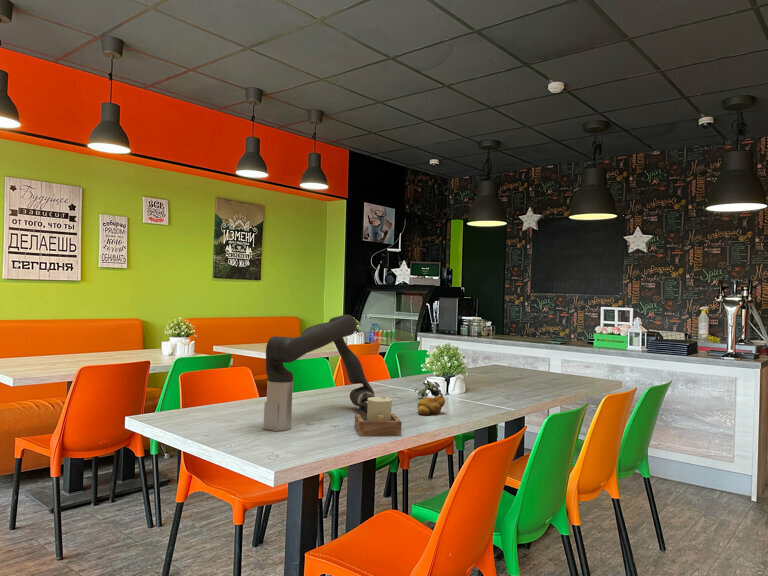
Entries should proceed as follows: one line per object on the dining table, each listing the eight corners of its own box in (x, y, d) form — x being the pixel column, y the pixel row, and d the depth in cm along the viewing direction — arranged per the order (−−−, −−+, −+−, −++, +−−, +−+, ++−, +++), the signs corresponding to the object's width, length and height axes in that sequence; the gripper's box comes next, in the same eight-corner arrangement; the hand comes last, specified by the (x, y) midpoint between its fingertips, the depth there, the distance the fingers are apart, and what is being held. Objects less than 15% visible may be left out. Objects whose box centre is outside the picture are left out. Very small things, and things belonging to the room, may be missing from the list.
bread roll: (425, 417, 230) (426, 398, 230) (409, 413, 237) (410, 394, 237) (446, 414, 238) (447, 395, 238) (430, 410, 245) (431, 391, 245)
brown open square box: (401, 435, 197) (401, 416, 197) (359, 436, 194) (360, 416, 194) (393, 426, 210) (394, 408, 210) (354, 427, 208) (355, 408, 208)
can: (394, 429, 206) (396, 397, 207) (385, 434, 198) (386, 401, 198) (372, 426, 210) (373, 394, 210) (361, 431, 202) (363, 398, 202)
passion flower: (435, 410, 270) (449, 392, 267) (419, 408, 264) (433, 390, 260) (424, 394, 278) (437, 376, 275) (409, 392, 272) (422, 374, 268)
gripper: (352, 393, 224) (358, 401, 207) (384, 393, 226) (392, 401, 209) (351, 411, 224) (357, 421, 207) (383, 411, 226) (392, 421, 209)
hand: (375, 411), depth 208 cm, fingers closed
